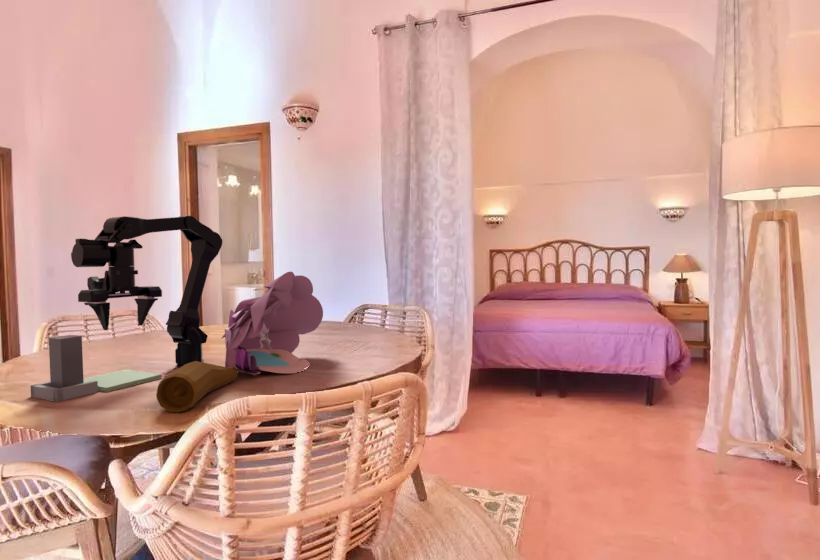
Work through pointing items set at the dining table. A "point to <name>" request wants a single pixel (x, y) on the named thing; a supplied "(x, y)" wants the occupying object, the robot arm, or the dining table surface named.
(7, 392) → the dining table surface
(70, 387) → the two-tone flat tray
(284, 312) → the flower arrangement
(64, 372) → the chute block
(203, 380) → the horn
